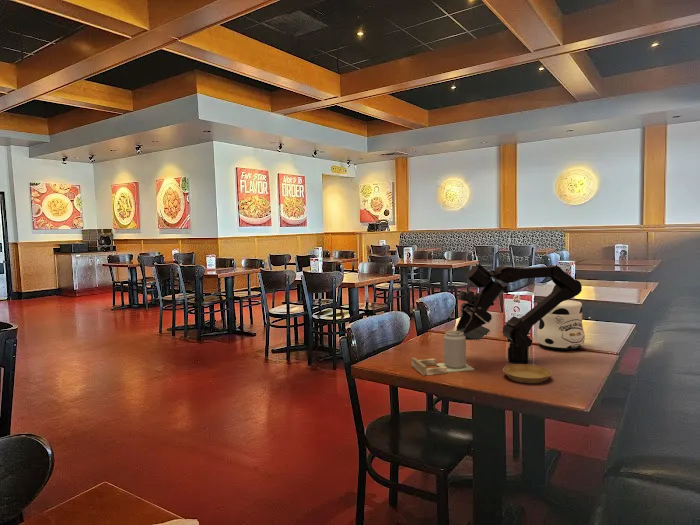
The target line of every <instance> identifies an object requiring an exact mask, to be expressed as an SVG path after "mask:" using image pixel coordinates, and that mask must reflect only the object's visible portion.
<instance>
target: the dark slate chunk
mask: <svg viewBox="0 0 700 525" xmlns="http://www.w3.org/2000/svg"><path fill="white" fill-rule="evenodd" d="M466 326H467V325H465V326H464V327H462V328H461V329H459V330H458V329H457V328H456V329H455V331H460V332H463V331H464V329H465V327H466ZM489 331H490V332H491V330H490V329H489V328H487V327H485V326H483V325H482V326H480V327H478V328H476V329H474V330H472V331H470V332H468V333H466V334H465V333H464V332H463V333H464V334H463V335H464V336H465V337H466V338H467V339H466V340H473V339H476V340H475V341H477V339H478V341H480V340H479V339H482V337H483V336H484V335H486V334H487V333H488V332H489ZM490 332H489V333H490ZM489 333H488V334H489ZM482 340H483V339H482Z"/></svg>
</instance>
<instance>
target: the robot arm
mask: <svg viewBox="0 0 700 525" xmlns="http://www.w3.org/2000/svg"><path fill="white" fill-rule="evenodd" d="M536 278H540V279H542V278H549V279H551V281H552V283H554V284H555V285H554V286H553V288H552V291H551V292H550V293H549V294H548V295H547V296H545V298H543V299H542V300H540V302H538V303H537V304H536V305H535V306H534V307H532V308H531V309H530V310H528V312H526V313H525V314H523V315H522V316H521V317H517V316H511V318H510V319H509V320H507V321H506V322H504V324H505V325H504V326H502V334H503V336H504V337H505V338H506V340H507V343H509V346H508V347H507V360H508V363H514V364H516V363H517V364H526V365H529V362H530V359H531V358H530V347H532V344H533V340H532V339H531V338H530V336H528V335H529V334H530V331H531V330H532V327H533V326H534V325H536V323H538V322H540V319H542V318H543V317H544V316H545V315H546V314H548V313H549V312H550V311H551V310H553V309H554V308H555V307H556V306H557V305H559V304H560V303H561V302H563V301H566V300H571V299H573V298H575V297H577V296H578V295H580V294H581V292H582V291H583V290H582V288H583V285H582V283H581V282H580V281H579V280H578V279H575V278H574V277H573V276H571V275H570V274H568V273H567V272H565V271H564V270H563V269H562V268H561V267H560V266H558V265H545V266H543V265H542V266H533V267H532V266H531V267H513V266H506V265H499V266H497V267H496V268H495V269H493V270H491V271H490V270H489V271H488V270H487V269H485V268H484V267H483V265H481V264H480V263H477V264H476V265H475V266H473V267H472V268H471V269H469V270H468V271H467V273H466V275H465V279H467V281H469V282H470V283H471V284H473V285H474V286H475V287H476V288H478V289H480V288H482V290H481V291H480V292H476V293H475V292H474V291H472V290H467V291H463V290H459V293H458V297H457V300H460V301H463V303H461V305H460V312H461V316H460V318H459V321H458V323H457V324H456V329H458V330H459V329H461V328H462V327H464V326H465V325H467V326H466V327H465V329H464V331H463V332H464V333H465V334H466V333H468V332H470V331H472V330H474V329H476V328H478V327H480V326H483V325H486V324H487V323H488V324H489V323H490V322H491V321H492V319H493V318H492V317H493V316H492V314H491V313H490V312H488V311H489V308H491V307H493V306H494V305H495V303H494V302H495V301H496V300H497V299H498V297H499V296H500V295H501V293H502V294H506V295H507V294H509V290H508V285H504V284H502V283H505V284H512V283H516V282H518V281H521V280H525V279H526V280H527V279H536ZM494 280H496V281H494Z"/></svg>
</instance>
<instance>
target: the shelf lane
mask: <svg viewBox="0 0 700 525" xmlns="http://www.w3.org/2000/svg"><path fill="white" fill-rule="evenodd" d="M429 365H430V366H436V359H435V358H427V359H417V358H416V357H411V367H412V368H413V367H414V368H413V369H415V370H416V371H417V372H418V373H419V372H420V373H419V374H421V375H422V376H424V377H425V375H426V376H434V375H433V374H436V375H443V374H444V373H447V367H438V366H437V367H429ZM427 367H429V368H427ZM447 374H448V373H447Z"/></svg>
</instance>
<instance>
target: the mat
mask: <svg viewBox="0 0 700 525" xmlns="http://www.w3.org/2000/svg"><path fill="white" fill-rule="evenodd" d="M435 366H437V367H438V366H439V367H447V366H446V365H445V364H444V362H440V363H435ZM467 371H468V372H469V371H475V368H474V367H472V366H470V365H469V364H468V363H466V365H465V366H464V367H463V368H449V367H447V372H448V373H456V372H457V373H458V372H467Z"/></svg>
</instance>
